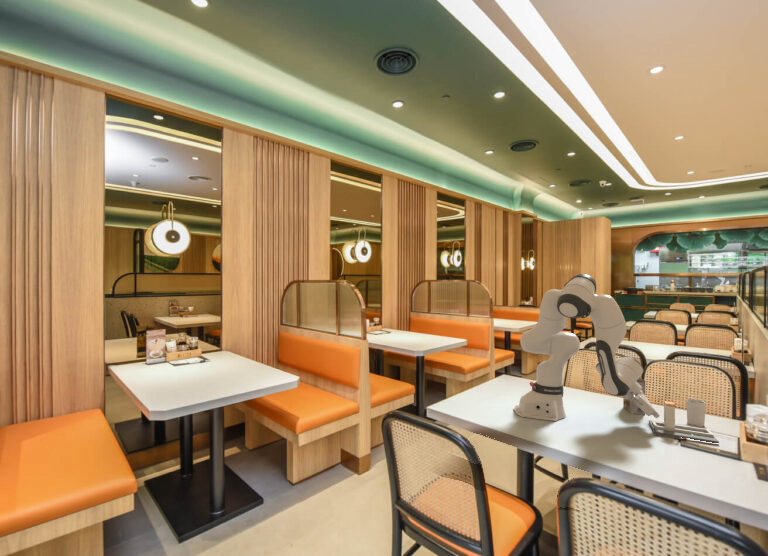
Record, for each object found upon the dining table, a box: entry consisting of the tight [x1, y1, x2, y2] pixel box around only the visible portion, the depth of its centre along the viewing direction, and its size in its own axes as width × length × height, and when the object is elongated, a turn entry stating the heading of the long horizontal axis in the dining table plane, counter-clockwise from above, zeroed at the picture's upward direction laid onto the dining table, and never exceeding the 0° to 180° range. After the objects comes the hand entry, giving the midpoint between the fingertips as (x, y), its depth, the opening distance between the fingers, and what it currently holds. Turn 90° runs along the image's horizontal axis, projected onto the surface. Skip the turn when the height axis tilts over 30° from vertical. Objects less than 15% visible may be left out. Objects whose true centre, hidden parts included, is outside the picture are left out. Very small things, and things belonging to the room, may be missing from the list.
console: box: [648, 419, 720, 443], centre depth 154 cm, size 20×14×2 cm
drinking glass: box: [685, 398, 707, 427], centre depth 164 cm, size 7×7×10 cm
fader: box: [663, 400, 676, 428], centre depth 155 cm, size 3×4×10 cm
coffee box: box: [622, 376, 646, 415], centre depth 180 cm, size 9×6×16 cm
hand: (657, 416), depth 157 cm, fingers closed
